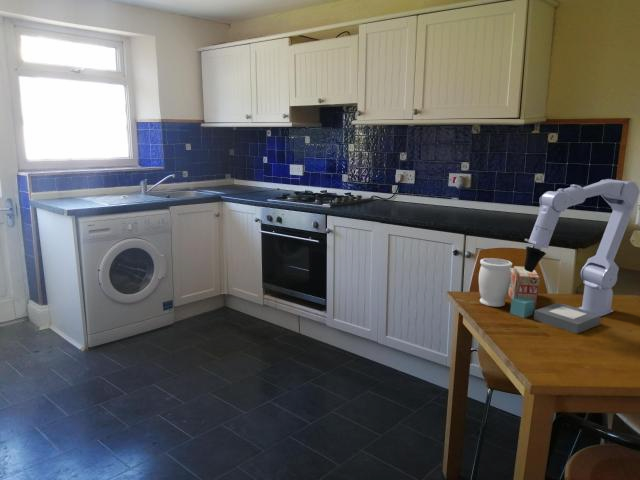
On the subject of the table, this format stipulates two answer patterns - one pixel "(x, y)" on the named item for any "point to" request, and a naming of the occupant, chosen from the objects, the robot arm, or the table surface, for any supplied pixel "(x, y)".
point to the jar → (494, 281)
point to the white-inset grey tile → (567, 317)
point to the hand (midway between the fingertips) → (528, 270)
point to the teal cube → (522, 307)
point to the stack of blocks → (523, 284)
